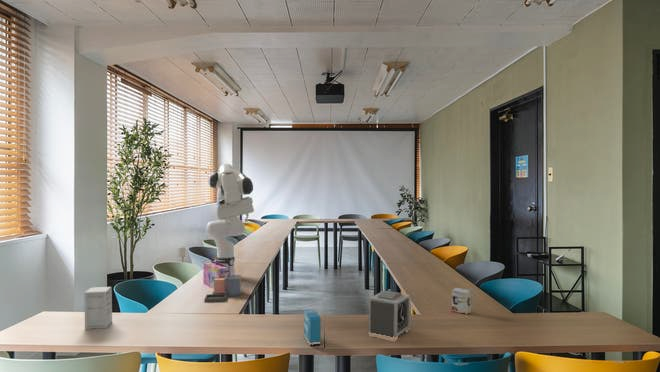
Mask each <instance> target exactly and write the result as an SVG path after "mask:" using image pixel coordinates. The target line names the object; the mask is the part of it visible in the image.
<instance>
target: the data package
mask: <svg viewBox="0 0 660 372" xmlns="http://www.w3.org/2000/svg"><path fill="white" fill-rule="evenodd" d="M321 318H322V317H321V315H319V314H318V312H317V311H316V310H315V309H310V310H308V309H307V310H304V311H303V336H304V335H305V337H306V338H307V339H308V341H309V342H310V343H313V342H322V332H321V331H322V319H321Z"/></svg>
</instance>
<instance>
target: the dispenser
mask: <svg viewBox="0 0 660 372" xmlns="http://www.w3.org/2000/svg"><path fill="white" fill-rule="evenodd" d="M225 279H226V290H225V294H226V297H241V293H242V275H241V274H236V275H227V276H225ZM212 294H214V291H212ZM221 294H224V293H221Z"/></svg>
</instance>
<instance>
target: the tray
mask: <svg viewBox="0 0 660 372" xmlns="http://www.w3.org/2000/svg"><path fill="white" fill-rule="evenodd" d="M226 300H227V296H226V293H225V294H213V293H211V294H206V295H205V297H204V303H220V302H226Z"/></svg>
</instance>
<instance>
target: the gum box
mask: <svg viewBox="0 0 660 372" xmlns="http://www.w3.org/2000/svg"><path fill="white" fill-rule="evenodd" d="M202 275H203V276H202V277H203V278H202V279H203V281H202V282H203V284H204V285H206V286H208V287H210V288H212V289H214V279H220V278H225V276H227V275H230V267H229V266H226V265H223V264H220V263H217V262H215V261H211V262H203V274H202ZM225 291H226V279H225Z"/></svg>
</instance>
